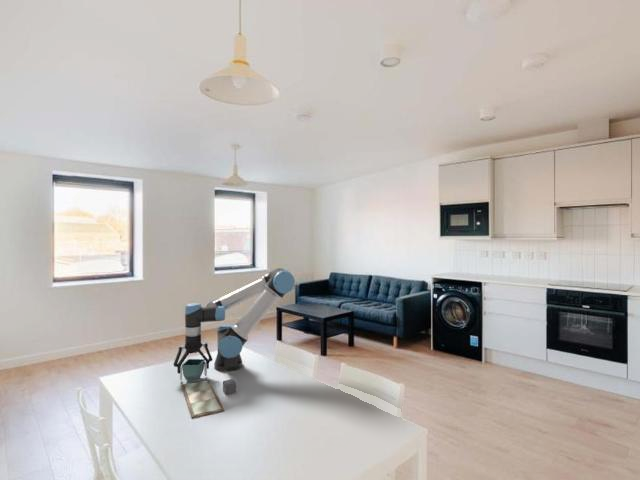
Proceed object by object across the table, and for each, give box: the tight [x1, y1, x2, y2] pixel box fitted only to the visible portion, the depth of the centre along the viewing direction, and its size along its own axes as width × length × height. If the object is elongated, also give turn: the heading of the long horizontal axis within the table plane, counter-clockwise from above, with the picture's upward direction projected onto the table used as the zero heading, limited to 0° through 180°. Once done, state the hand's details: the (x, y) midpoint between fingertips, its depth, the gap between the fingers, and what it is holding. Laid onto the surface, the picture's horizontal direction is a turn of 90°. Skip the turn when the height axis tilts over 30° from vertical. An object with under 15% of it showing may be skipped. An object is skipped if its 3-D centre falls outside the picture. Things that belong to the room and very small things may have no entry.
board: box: [181, 380, 225, 419], centre depth 163 cm, size 13×34×1 cm, turn 27°
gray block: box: [222, 378, 237, 396], centre depth 169 cm, size 5×5×5 cm
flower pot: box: [181, 358, 206, 382], centre depth 183 cm, size 9×9×9 cm
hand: (193, 377), depth 183 cm, fingers closed on flower pot, 11 cm apart
